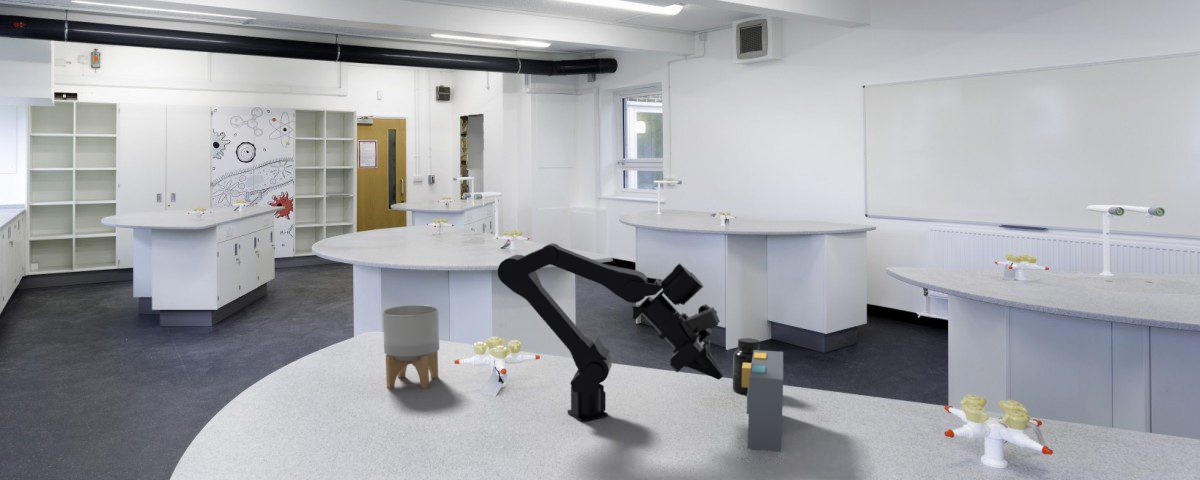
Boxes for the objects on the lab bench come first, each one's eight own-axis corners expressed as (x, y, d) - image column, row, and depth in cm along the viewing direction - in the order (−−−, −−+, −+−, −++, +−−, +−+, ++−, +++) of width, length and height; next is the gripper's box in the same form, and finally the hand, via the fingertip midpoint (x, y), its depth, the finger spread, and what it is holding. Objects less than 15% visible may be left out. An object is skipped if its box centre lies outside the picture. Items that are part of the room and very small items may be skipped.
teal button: (746, 413, 133) (747, 393, 133) (747, 407, 137) (748, 386, 137) (766, 415, 132) (766, 394, 132) (766, 408, 136) (767, 388, 136)
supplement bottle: (762, 396, 161) (763, 344, 160) (732, 394, 162) (733, 343, 161) (762, 387, 168) (763, 337, 166) (732, 385, 169) (733, 336, 168)
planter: (423, 371, 181) (421, 302, 180) (450, 382, 172) (448, 310, 170) (375, 381, 173) (373, 310, 171) (401, 394, 163) (398, 318, 161)
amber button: (741, 387, 143) (741, 367, 143) (742, 381, 147) (743, 362, 147) (759, 388, 142) (760, 368, 142) (760, 382, 146) (760, 363, 146)
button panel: (747, 448, 131) (749, 375, 130) (752, 412, 150) (753, 348, 149) (781, 451, 129) (783, 378, 128) (781, 414, 149) (783, 350, 147)
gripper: (687, 303, 133) (746, 364, 131) (702, 286, 151) (754, 340, 149) (646, 341, 136) (703, 402, 134) (665, 321, 154) (716, 374, 152)
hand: (721, 377), depth 142 cm, fingers closed
